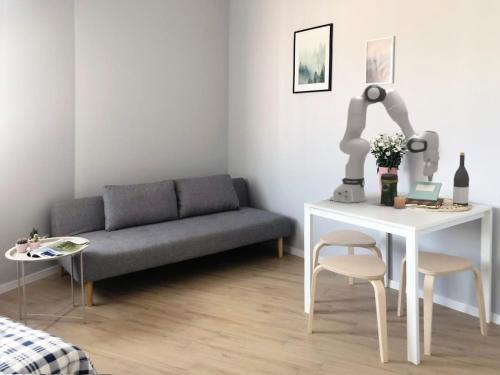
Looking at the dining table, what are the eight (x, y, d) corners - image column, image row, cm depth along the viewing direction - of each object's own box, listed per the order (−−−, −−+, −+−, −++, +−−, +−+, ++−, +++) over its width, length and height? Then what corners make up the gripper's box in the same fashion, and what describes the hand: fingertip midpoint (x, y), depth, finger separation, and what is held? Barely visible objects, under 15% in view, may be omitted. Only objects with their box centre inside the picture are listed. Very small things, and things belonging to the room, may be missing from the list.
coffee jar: (400, 204, 271) (400, 173, 268) (391, 206, 267) (392, 174, 264) (386, 202, 279) (387, 171, 276) (378, 204, 275) (378, 173, 272)
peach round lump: (392, 208, 263) (393, 198, 262) (395, 206, 268) (396, 196, 267) (403, 209, 260) (403, 198, 259) (406, 207, 265) (406, 196, 263)
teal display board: (407, 199, 269) (407, 197, 268) (413, 182, 277) (413, 181, 276) (436, 201, 260) (436, 199, 259) (441, 184, 268) (441, 182, 267)
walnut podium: (404, 206, 267) (404, 193, 266) (411, 201, 280) (412, 188, 279) (436, 209, 257) (437, 195, 256) (443, 203, 270) (443, 190, 269)
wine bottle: (458, 206, 261) (460, 153, 256) (449, 203, 269) (451, 152, 264) (471, 205, 263) (473, 152, 258) (462, 202, 271) (464, 151, 266)
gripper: (432, 160, 265) (431, 184, 267) (440, 156, 281) (439, 179, 284) (420, 160, 268) (420, 183, 271) (429, 156, 285) (428, 178, 287)
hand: (430, 181), depth 277 cm, fingers closed
